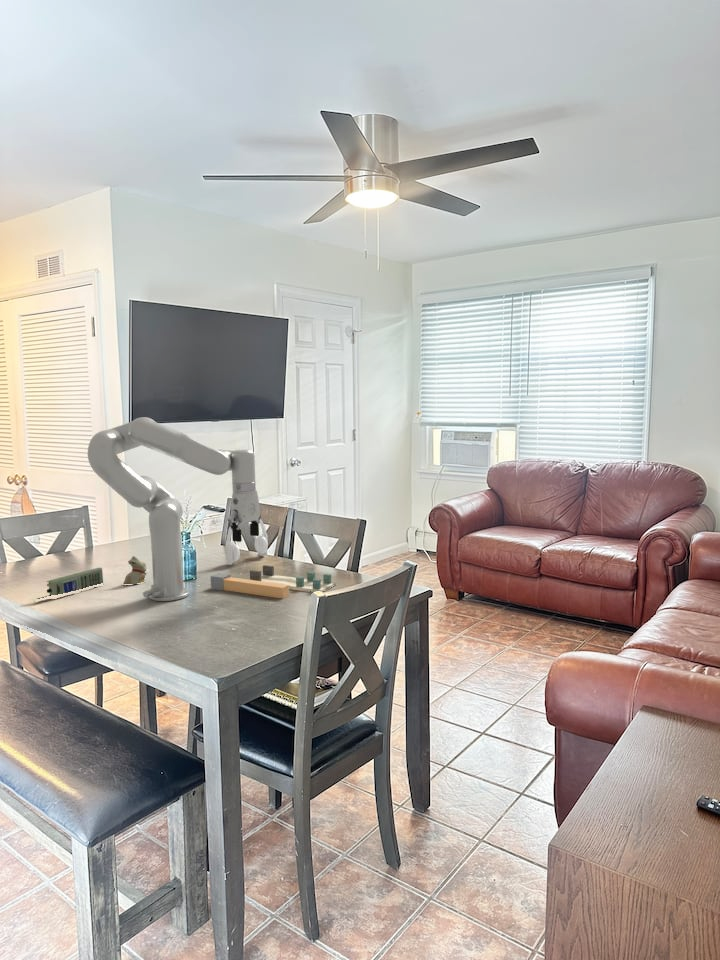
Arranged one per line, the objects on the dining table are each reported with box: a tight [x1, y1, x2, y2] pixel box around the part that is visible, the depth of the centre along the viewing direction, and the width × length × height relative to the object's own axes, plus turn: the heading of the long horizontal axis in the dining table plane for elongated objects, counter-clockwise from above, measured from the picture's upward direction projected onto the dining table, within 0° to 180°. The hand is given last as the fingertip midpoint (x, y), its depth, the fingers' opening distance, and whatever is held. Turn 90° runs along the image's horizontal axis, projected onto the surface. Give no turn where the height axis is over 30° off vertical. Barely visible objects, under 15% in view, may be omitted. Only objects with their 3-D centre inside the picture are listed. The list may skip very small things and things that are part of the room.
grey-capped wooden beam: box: [210, 572, 290, 599], centre depth 221 cm, size 4×29×4 cm, turn 64°
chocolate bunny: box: [123, 555, 147, 584], centre depth 233 cm, size 6×8×10 cm
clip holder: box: [248, 564, 337, 593], centre depth 229 cm, size 10×30×4 cm, turn 64°
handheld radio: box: [37, 567, 104, 599], centre depth 220 cm, size 7×3×25 cm
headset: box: [224, 518, 269, 566], centre depth 263 cm, size 20×7×18 cm, turn 142°
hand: (246, 538), depth 219 cm, fingers open, 9 cm apart
